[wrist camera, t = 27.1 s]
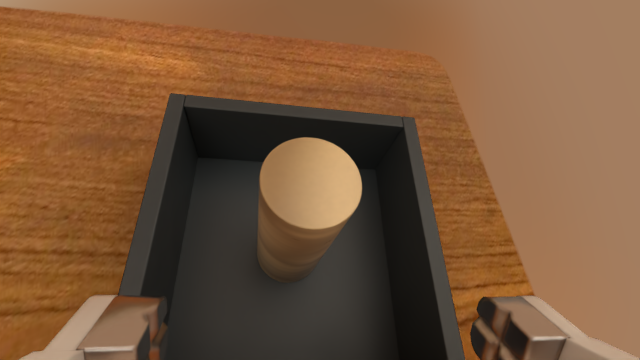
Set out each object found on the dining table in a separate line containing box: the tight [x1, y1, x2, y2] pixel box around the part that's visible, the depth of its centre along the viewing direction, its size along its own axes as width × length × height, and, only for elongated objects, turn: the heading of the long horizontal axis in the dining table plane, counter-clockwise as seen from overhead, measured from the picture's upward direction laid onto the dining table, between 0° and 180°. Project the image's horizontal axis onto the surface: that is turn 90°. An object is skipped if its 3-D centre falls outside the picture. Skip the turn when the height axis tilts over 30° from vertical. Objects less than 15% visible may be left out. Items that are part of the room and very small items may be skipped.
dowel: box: [257, 137, 362, 283], centre depth 15 cm, size 4×4×9 cm
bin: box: [118, 93, 465, 360], centre depth 17 cm, size 14×14×6 cm
